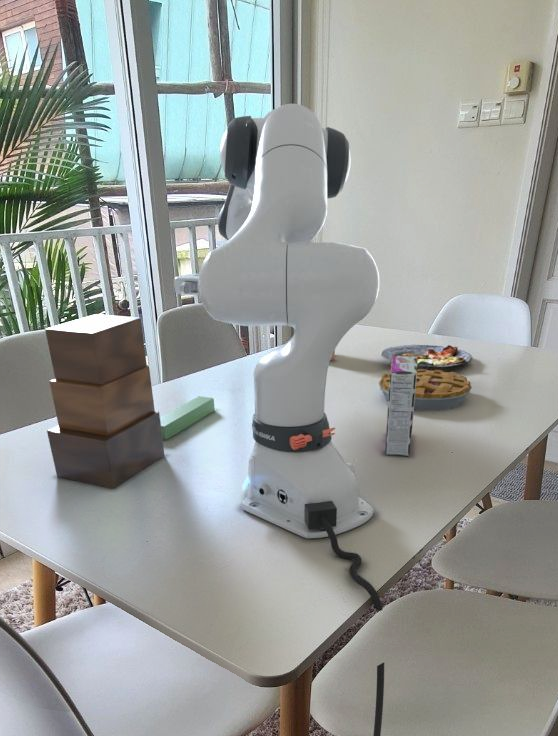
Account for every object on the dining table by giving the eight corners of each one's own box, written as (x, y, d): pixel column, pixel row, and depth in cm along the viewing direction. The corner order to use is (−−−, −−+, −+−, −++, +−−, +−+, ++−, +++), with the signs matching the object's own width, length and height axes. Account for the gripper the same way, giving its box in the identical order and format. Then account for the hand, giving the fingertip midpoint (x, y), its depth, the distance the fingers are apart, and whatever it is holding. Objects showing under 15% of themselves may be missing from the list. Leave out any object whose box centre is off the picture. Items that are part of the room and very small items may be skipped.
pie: (372, 409, 142) (374, 388, 140) (381, 382, 160) (383, 363, 158) (471, 415, 137) (474, 393, 135) (469, 386, 156) (472, 366, 153)
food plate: (471, 354, 183) (473, 342, 181) (471, 376, 163) (472, 362, 162) (386, 350, 189) (387, 338, 187) (376, 371, 170) (377, 358, 168)
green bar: (200, 408, 146) (198, 396, 144) (214, 410, 144) (213, 398, 143) (150, 437, 130) (148, 423, 129) (165, 440, 129) (164, 426, 127)
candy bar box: (386, 434, 129) (392, 355, 120) (410, 436, 128) (418, 355, 119) (383, 455, 119) (389, 370, 111) (409, 457, 118) (418, 371, 110)
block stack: (111, 446, 127) (89, 313, 113) (164, 455, 122) (147, 318, 108) (56, 477, 114) (24, 331, 101) (113, 488, 109) (87, 338, 96)
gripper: (191, 265, 146) (157, 273, 135) (269, 268, 138) (240, 276, 127) (193, 294, 149) (161, 304, 138) (270, 298, 141) (242, 309, 130)
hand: (199, 291), depth 132 cm, fingers open, 8 cm apart
